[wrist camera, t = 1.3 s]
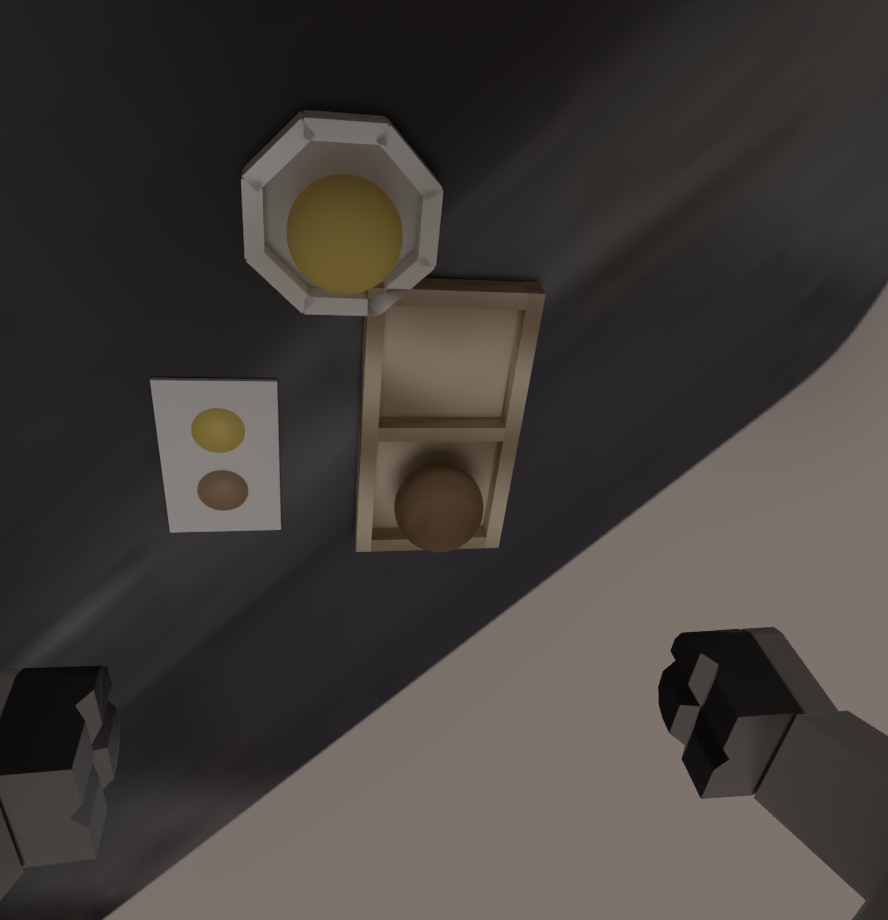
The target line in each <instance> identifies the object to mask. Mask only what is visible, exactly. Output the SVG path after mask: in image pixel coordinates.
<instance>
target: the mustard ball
mask: <svg viewBox="0 0 888 920" xmlns="http://www.w3.org/2000/svg"><path fill="white" fill-rule="evenodd" d="M286 234H287V243H288V248H289V251H290V254H291V257H292V259H293V261H294V263H295V264H296V266H297V267H298V269H299V270H300V272H301V273H302V274H303V275H304V276H305V277H306V278H307V279H308V280H309V281H311V282H312V283H313V284H315V285H316V286H318V287H320V288H322V289H324V290H327V291H329V292H333V293H338V294H355V293H360V292H364V291H367V290H369V289H371V288H373V287H375V286H377V285H378V284H379V283H381V282H382V281H383V280H384V279H385V278H386V277H387V276H388V275H389V274H390V273H391V271H392V270H393V268H394V267H395V265H396V263H397V261H398V259H399V256H400V252H401V249H402V242H403V231H402V223H401V220H400V216H399V213H398V211H397V209H396V207H395V205H394V204H393V202H392V200H391V199H390V198H389V196H388V195H387V194H386V193H385V192H384V191H383V190H382V189H381V188H380V187H378V186H377V185H376V184H374V183H373V182H371V181H369V180H367V179H365V178H362V177H360V176H356V175H351V174H335V175H329V176H326V177H323V178H320V179H318V180H316V181H315V182H313V183H311V184H310V185H309V186H308V187H306V188H305V189H304V190H303V191H302V192H301V193H300V194H299V196H298V197H297V199H296V200H295V201H294V203H293V205H292V207H291V210H290V213H289V216H288V221H287V230H286Z"/></svg>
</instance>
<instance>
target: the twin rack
mask: <svg viewBox="0 0 888 920" xmlns="http://www.w3.org/2000/svg"><path fill="white" fill-rule="evenodd" d="M383 290H386V288H384V284H383V281H382V282H381V283H379V284H378V285H377V286H375V287H373V288H371V289H369V290H367V296H368V299H369V300H371V299H372V300H371V301H373V298H374V297H376V295H377V297H379V296H378V295H379V293H380V292H381V294H383V292H384V291H383ZM390 290H391V291H390ZM392 290H394V293H395V291H396V292H397V291H398V290H401V289H397V290H396V289H389V290H388V289H387V292H388V291H389V292H393V291H392ZM402 290H403V289H402ZM405 290H407V289H405ZM382 291H383V292H382ZM389 292H388V293H386V291H385V292H384V294H385V293H386V296H387V294H388V295H389ZM398 292H399V291H398ZM398 292H397V293H398ZM403 292H404V291H402V294H403ZM397 293H396V294H397ZM400 293H401V292H399V294H400ZM391 294H392V293H390V297H391ZM396 294H395V295H396ZM545 295H546V294H545V292H544V291H543V289H542V287H541V286H540V284H539V283H538V282H520V281H493V280H466V279H439V278H423V279H422V280H421V281H420V282H418V283H417V284H416V285H415V286H414V287H413V288H411V289H410V290H409V289H408V291H407V293H406V291H405V293H404V294H403V296H400V299H397V301H396V300H395V301H394V302H395V303H394V304H393V305H390V304H389V305H390V307H389V308H388V309H387V310H386V311H384V312H383V313H382V314H381V315H380V314H377V315H378V316H376V315H375V313H376V312H375V313H374V315H375V316H364V334H363V356H362V378H361V401H360V423H359V445H358V467H357V489H356V511H355V533H354V536H355V547H356V552H372V551H405V550H423V549H421V548H419V547H417V546H415V545H414V544H412V543H411V542H410V541H409V540H408V539H407V538H406V537H405V536H404V535H403V533H402V532H401V530H400V529H399V527H398V525H397V522H396V518H395V513H394V502H395V496H396V493H397V491H398V488H399V486H400V484H401V483H402V482H403V480H404V479H405V478H406V477H407V475H409V474H410V473H411V472H412V471H414V470H415V469H417V468H419V467H421V466H423V465H426V464H430V463H447V464H451V465H454V466H457V467H459V468H461V469H463V470H464V471H465V472H467V473H468V474H469V475H470V476H471V477H472V478H473V479H474V481H475V482H476V483H477V485H478V487H479V489H480V491H481V494H482V498H483V505H484V510H483V517H482V521H481V524H480V526H479V528H478V530H477V532H476V533H475V534H474V536H473V537H472V538H471V539H470V540H469V541H468V542H467V543H465V544H464V545H462V546H461V547H459V548H457V549H472V548H498V547H499V542H500V537H501V531H502V526H503V520H504V515H505V510H506V504H507V499H508V494H509V488H510V483H511V478H512V472H513V467H514V461H515V456H516V451H517V445H518V440H519V435H520V429H521V424H522V419H523V413H524V408H525V402H526V397H527V392H528V386H529V381H530V376H531V370H532V365H533V360H534V354H535V349H536V343H537V338H538V333H539V327H540V322H541V317H542V311H543V306H544V301H545ZM381 296H382V295H381ZM393 296H394V295H393ZM396 296H397V295H396ZM377 297H376V298H377ZM398 297H399V295H398ZM382 298H383V297H382ZM382 298H381V297H380V298H379V299H382ZM393 298H394V297H393ZM393 298H392V300H393ZM395 299H396V298H395ZM369 300H368V302H369V303H370V302H371V301H369ZM382 300H383V299H382ZM382 300H381V301H382ZM385 300H386V302H387V298H386V299H385ZM390 300H391V299H390ZM392 300H391V304H392ZM374 301H375V300H374ZM374 301H373V302H374ZM376 301H377V299H376ZM376 301H375V302H376ZM381 301H380V300H379V302H381ZM383 301H384V300H383ZM377 302H378V301H377ZM379 302H378V304H379ZM382 303H383V302H382ZM382 303H381V305H382ZM370 304H371V303H370ZM384 304H385V301H384ZM384 304H383V305H384ZM374 305H375V304H374ZM376 305H377V303H376ZM371 306H373V305H371ZM377 306H378V305H377ZM369 307H370V306H368V309H369ZM375 307H376V306H375ZM370 308H372V307H370ZM376 308H377V307H376ZM378 308H379V307H378ZM383 308H385V307H383ZM374 309H375V308H374ZM374 309H373V310H374ZM380 310H381V309H380ZM380 310H379V311H380ZM367 311H370V312H371V309H370V310H367ZM379 311H378V312H379ZM372 312H373V311H372ZM367 313H368V312H367ZM380 313H381V312H380ZM369 314H372V313H369Z"/></svg>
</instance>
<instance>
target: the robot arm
mask: <svg viewBox="0 0 888 920" xmlns="http://www.w3.org/2000/svg"><path fill="white" fill-rule="evenodd" d="M671 653H672V654H673V656H674V658H675V660H676V661H675V662H673V663H672V664H671V665H670V666H669V667H667V668H666V669H665V670H664V671H663V673H662V676H661V680H660V683H659V686H658V690H659V692H658V693H659V707H660V711H661V714H662V718H663V720H664V723H665V725H666V727H667V729H668V731H669V733H670V734H671V735H672V736H674V737H675V738H676V739H678V740H679V741H680V742H681V743H683V744H684V745H685V748H684V751H683V755H682V761H683V763H684V765H685V767H686V769H687V771H688V773H689V775H690V777H691V779H692V781H693V783H694V785H695V787H696V790H697V792H698V794H699V796H700V798H701V799H704V798H718V797H733V796H746V795H755V797H754V799H756V800H757V801H758V802H759V803H760V804H761V805H762V806H763V807H764V808H766V809H767V810H768V811H769V812H770V813H771V814H772V815H773V816H774V817H775V818H776V819H777V820H778V821H780V822H781V823H782V824H783V825H784V826H785V827H786V828H787V829H788V830H790V832H792V833H793V834H794V835H795V836H796V837H797V838H798V839H800V840H801V841H802V842H803V843H804V844H805V845H806V846H807V847H808V848H809V849H810V850H811V851H812V852H813V853H815V854H816V855H817V856H818V857H819V858H820V859H821V860H822V861H823V862H825V864H827V865H828V866H829V867H830V868H831V869H832V870H833V871H834V872H835V873H836V874H838V875H839V876H840V877H841V878H842V879H843V880H844V881H845V882H846V883H847V884H848V885H850V886H851V887H852V888H853V889H854V890H855V891H856V892H857V893H858V894H859V895H861V896H862V897H863V898H864V899H865V900H866V901H865V903H864V904H863V905H862V907H861V908H860V909H859V911H858V912H857V914H856V915H855V916H854V918H853V919H852V920H888V736H887V735H885V734H883V733H882V732H881V731H879V730H877V729H875V728H874V727H872V726H871V725H869V724H868V723H866V722H865V721H863V720H862V719H860V718H858V717H857V716H855V715H854V714H852V713H850V712H849V711H838V710H837V708H836V707H835V706H834V704H833V703H832V701H831V700H830V699H829V697H828V696H827V694H826V693H825V692H824V690H823V689H822V687H821V686H820V685H819V683H818V682H817V681H816V679H815V678H814V676H813V675H812V674H811V672H810V671H809V670H808V668H807V667H806V665H805V664H804V663H803V661H802V660H801V658H800V657H799V656H798V654H797V653H796V651H795V650H794V649H793V648H792V646H791V645H790V643H789V642H788V640H787V639H786V638H785V636H784V635H783V634H782V633H781V632H780V631H779V630H777V629H776V628H774V627H766V628H749V629H741V630H740V629H729V630H716V631H700V632H685V633H681V634H680V635H679V636H677V637H676V638H675V640H674V643H673V646H672V648H671ZM111 685H112V683H111V679H110V675H109V671H108V667H105V666H79V667H48V668H23V669H4V670H0V900H1V899H2V898H3V896H4V895H5V894H6V893H7V892H8V890H9V889H10V888H11V887H12V886H13V884H14V883H15V882H16V881H17V879H18V878H19V877H20V876H21V875H22V873H23V869H22V868H26V867H34V866H42V865H50V864H58V863H66V862H74V861H82V860H90V859H96V856H97V852H98V847H99V843H100V838H101V834H102V830H103V825H104V821H105V816H106V812H107V808H106V803H105V799H104V794H103V789H104V788H105V787H106V786H107V785H108V784H109V783H110V782H111V781H112V780H113V779H114V775H115V770H116V765H117V760H118V750H119V738H120V732H119V718H118V712H117V707H116V706H115V705H113V704H112V703H111V702H109V701H108V698H109V694H110V689H111Z"/></svg>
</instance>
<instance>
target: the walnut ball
mask: <svg viewBox="0 0 888 920" xmlns="http://www.w3.org/2000/svg"><path fill="white" fill-rule="evenodd" d="M483 510H484V505H483V498H482V494H481V491H480V489H479V487H478V485H477V483H476V482H475V481H474V479H473V478H472V477H471V476H470V475H469V474H468V473H467V472H465V471H464V470H463V469H461V468H459V467H457V466H454V465H451V464H447V463H430V464H426V465H423V466H421V467H419V468H417V469H415V470H414V471H412V472H411V473H410V474H409V475H407V477H406V478H405V479H404V480H403V482H402V483H401V484H400V486H399V488H398V491H397V493H396V496H395V502H394V513H395V518H396V522H397V525H398V527H399V529H400V530H401V532H402V533H403V535H404V536H405V537H406V538H407V539H408V540H409V541H410V542H411V543H412V544H414V545H415V546H417V547H419V548H421V549H423V550H426V551H430V552H447V551H451V550H454V549H457V548H459V547H461V546H462V545H464V544H465V543H467V542H468V541H469V540H470V539H471V538H472V537H473V536H474V534H475V533H476V532H477V530H478V528H479V526H480V524H481V521H482V517H483Z"/></svg>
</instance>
